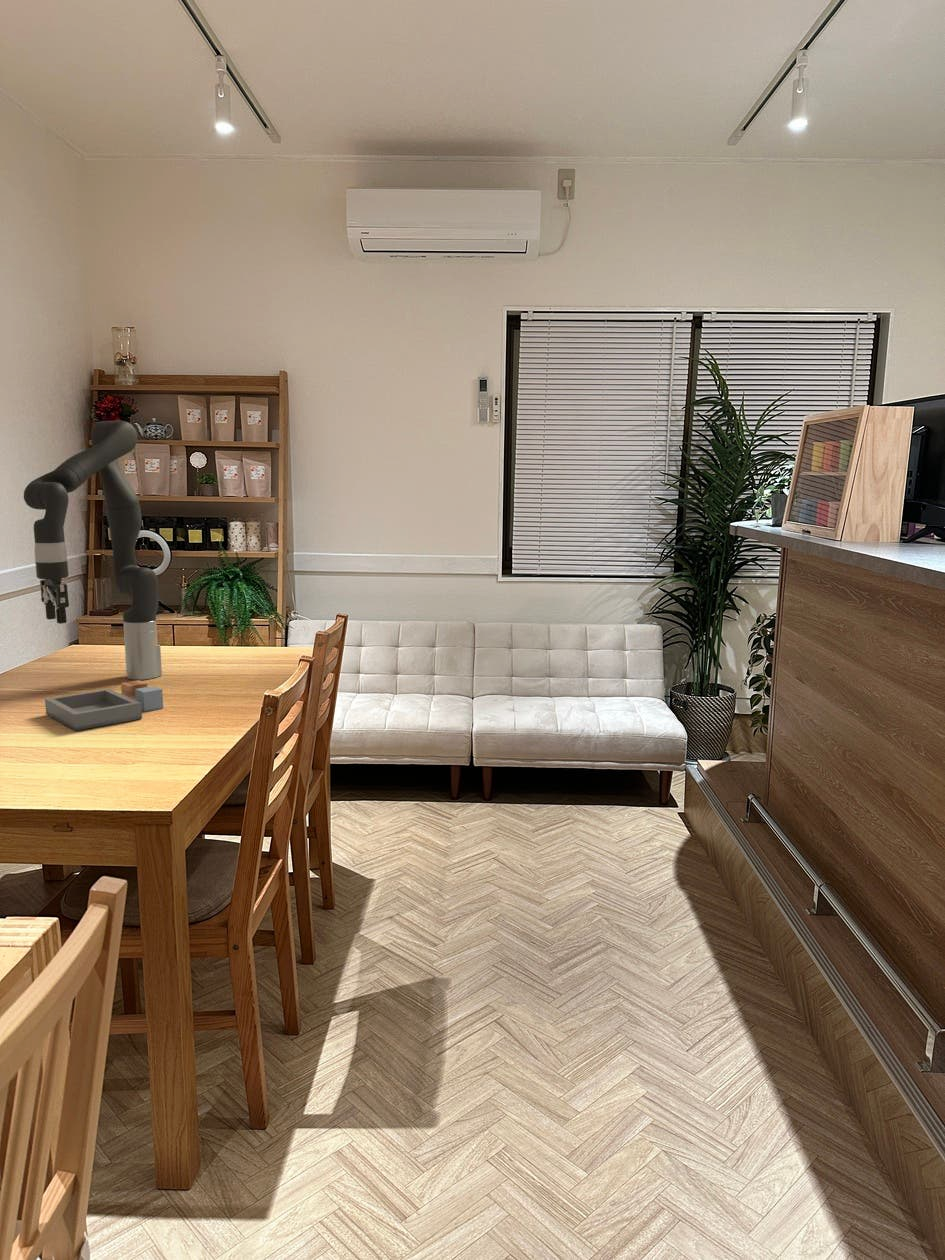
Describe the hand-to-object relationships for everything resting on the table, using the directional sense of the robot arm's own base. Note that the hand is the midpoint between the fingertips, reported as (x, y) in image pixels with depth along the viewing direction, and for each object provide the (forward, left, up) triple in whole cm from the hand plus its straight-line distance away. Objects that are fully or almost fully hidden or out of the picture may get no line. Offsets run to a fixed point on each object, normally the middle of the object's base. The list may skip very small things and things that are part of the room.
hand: (56, 621), depth 226 cm
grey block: (-14, +22, -22) cm, 34 cm away
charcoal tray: (0, +21, -22) cm, 30 cm away
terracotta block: (-14, +13, -22) cm, 29 cm away
